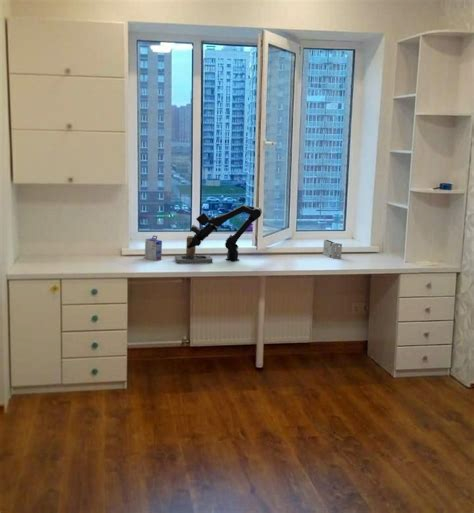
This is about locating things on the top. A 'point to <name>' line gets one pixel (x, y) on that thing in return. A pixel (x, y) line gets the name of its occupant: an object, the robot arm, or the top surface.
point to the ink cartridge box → (153, 248)
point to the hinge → (332, 249)
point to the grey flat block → (193, 259)
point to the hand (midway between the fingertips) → (188, 246)
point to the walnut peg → (190, 250)
